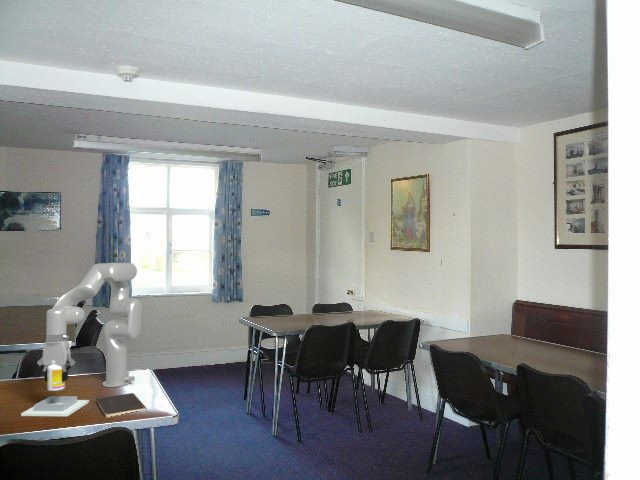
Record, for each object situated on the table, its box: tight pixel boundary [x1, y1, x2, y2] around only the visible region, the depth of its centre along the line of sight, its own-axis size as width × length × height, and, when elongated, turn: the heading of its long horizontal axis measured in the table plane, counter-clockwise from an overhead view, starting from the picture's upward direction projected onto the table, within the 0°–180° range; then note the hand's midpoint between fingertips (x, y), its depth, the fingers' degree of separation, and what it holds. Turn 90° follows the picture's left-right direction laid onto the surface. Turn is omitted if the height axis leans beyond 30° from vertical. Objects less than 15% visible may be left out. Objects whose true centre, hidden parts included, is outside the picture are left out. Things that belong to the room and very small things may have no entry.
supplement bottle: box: [46, 360, 66, 392], centre depth 215 cm, size 7×7×13 cm
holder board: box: [20, 395, 90, 417], centre depth 215 cm, size 19×18×4 cm
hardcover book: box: [96, 392, 147, 418], centre depth 218 cm, size 16×23×2 cm
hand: (56, 380), depth 215 cm, fingers closed on supplement bottle, 6 cm apart
